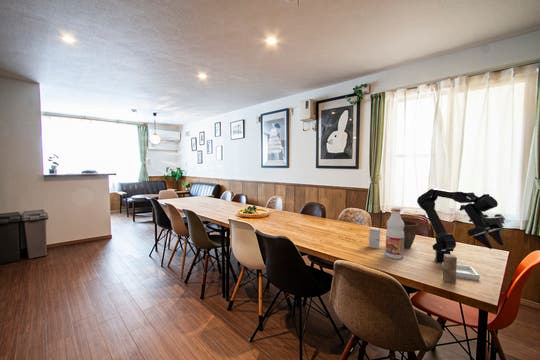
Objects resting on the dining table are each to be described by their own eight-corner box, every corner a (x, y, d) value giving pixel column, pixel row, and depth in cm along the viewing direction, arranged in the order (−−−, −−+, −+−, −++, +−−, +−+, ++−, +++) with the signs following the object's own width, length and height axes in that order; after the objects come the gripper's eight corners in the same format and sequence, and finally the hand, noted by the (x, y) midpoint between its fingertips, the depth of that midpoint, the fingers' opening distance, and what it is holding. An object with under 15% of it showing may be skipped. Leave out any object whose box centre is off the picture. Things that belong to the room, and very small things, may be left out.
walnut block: (444, 282, 113) (446, 256, 112) (442, 279, 117) (443, 253, 116) (455, 284, 111) (456, 257, 111) (453, 280, 115) (454, 255, 114)
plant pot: (415, 252, 154) (416, 226, 153) (389, 247, 163) (390, 222, 162) (418, 246, 166) (419, 222, 165) (394, 241, 175) (394, 219, 174)
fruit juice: (407, 259, 142) (408, 210, 140) (391, 259, 141) (392, 210, 140) (397, 253, 151) (398, 207, 150) (382, 253, 150) (383, 207, 149)
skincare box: (368, 247, 163) (369, 228, 162) (369, 245, 167) (370, 227, 166) (379, 248, 160) (379, 230, 159) (379, 246, 164) (380, 228, 163)
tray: (447, 275, 120) (448, 270, 120) (442, 266, 131) (442, 262, 131) (479, 280, 115) (479, 275, 115) (470, 270, 126) (470, 265, 126)
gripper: (481, 210, 110) (505, 245, 104) (504, 206, 118) (527, 238, 111) (458, 220, 119) (478, 252, 112) (480, 215, 127) (500, 245, 120)
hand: (497, 246), depth 114 cm, fingers open, 9 cm apart
